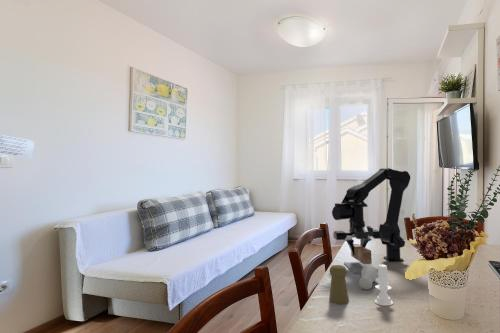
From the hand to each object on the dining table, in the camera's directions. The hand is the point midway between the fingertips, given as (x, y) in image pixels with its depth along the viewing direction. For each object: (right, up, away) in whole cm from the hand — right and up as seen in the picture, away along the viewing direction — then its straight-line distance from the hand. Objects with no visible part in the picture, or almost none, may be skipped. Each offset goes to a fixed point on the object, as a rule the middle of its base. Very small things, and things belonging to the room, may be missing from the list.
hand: (357, 255), depth 153 cm
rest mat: (0, -4, -4) cm, 6 cm away
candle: (-4, -5, -41) cm, 42 cm away
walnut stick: (0, -1, -4) cm, 4 cm away
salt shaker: (-1, -1, -18) cm, 18 cm away
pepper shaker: (-17, -5, -38) cm, 42 cm away
